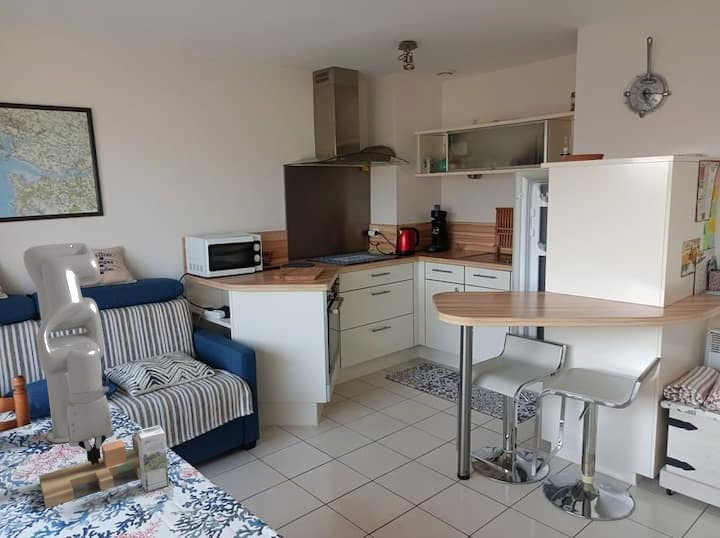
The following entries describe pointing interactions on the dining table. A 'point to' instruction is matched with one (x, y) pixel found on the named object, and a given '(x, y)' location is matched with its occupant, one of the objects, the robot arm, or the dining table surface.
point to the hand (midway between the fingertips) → (94, 462)
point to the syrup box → (152, 458)
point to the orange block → (114, 453)
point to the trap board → (88, 478)
